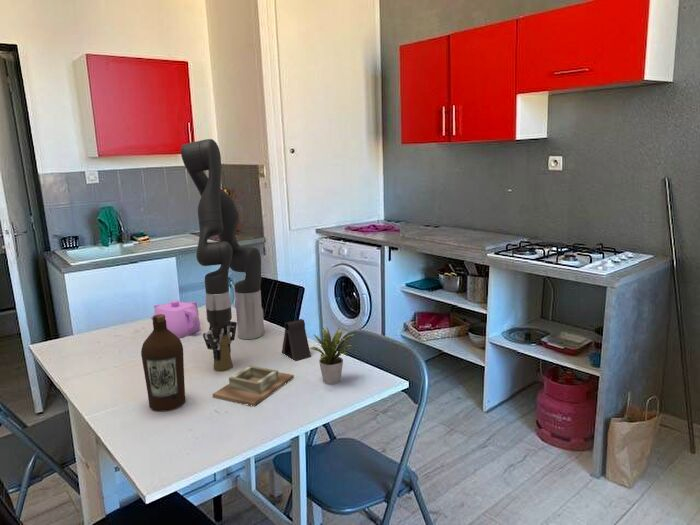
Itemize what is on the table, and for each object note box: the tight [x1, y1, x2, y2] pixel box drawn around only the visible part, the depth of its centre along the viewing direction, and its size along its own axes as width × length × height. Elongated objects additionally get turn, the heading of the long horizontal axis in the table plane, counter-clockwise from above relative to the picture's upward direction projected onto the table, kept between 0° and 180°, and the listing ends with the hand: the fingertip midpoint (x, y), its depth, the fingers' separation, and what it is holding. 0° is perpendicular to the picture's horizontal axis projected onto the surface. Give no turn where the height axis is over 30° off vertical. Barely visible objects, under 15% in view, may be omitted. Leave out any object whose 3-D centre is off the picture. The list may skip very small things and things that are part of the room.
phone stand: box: [281, 318, 312, 362], centre depth 178 cm, size 9×6×12 cm, turn 36°
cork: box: [213, 334, 233, 372], centre depth 169 cm, size 6×6×11 cm
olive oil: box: [140, 314, 186, 412], centre depth 144 cm, size 11×11×25 cm
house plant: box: [309, 326, 356, 385], centre depth 156 cm, size 14×14×16 cm
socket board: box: [212, 365, 295, 407], centre depth 155 cm, size 20×14×4 cm
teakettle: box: [150, 299, 201, 339], centre depth 204 cm, size 17×17×12 cm
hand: (222, 357), depth 170 cm, fingers closed on cork, 4 cm apart
